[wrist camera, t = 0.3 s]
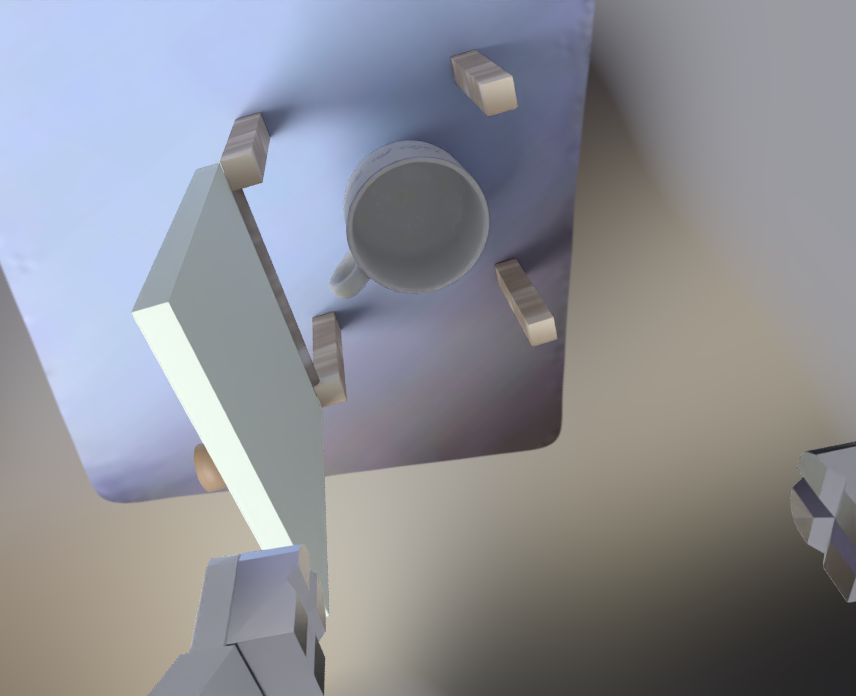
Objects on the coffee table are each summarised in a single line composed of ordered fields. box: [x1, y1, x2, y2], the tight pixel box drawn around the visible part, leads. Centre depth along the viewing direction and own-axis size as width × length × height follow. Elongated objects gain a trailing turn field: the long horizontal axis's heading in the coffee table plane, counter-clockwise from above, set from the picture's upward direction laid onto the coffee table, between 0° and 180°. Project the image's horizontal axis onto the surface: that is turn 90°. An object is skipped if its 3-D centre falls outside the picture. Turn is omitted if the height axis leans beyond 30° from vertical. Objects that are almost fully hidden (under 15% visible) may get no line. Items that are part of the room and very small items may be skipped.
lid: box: [131, 163, 329, 616], centre depth 40 cm, size 20×19×3 cm
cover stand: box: [220, 50, 557, 408], centre depth 53 cm, size 20×20×11 cm
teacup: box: [330, 140, 490, 299], centre depth 55 cm, size 14×11×8 cm
